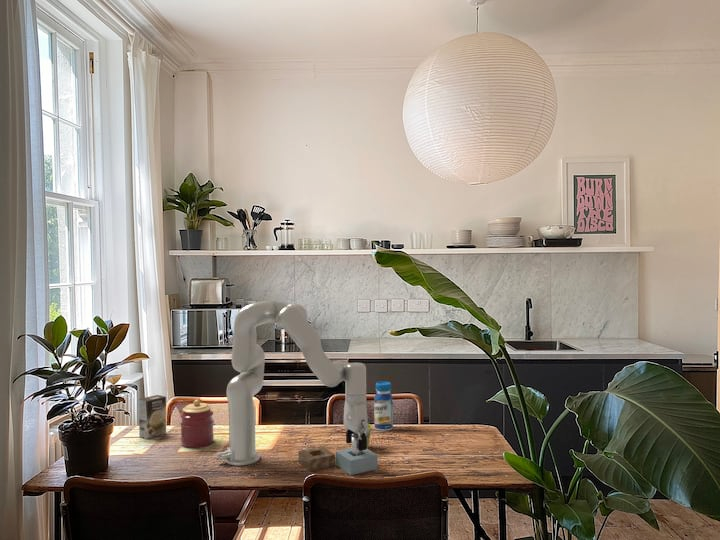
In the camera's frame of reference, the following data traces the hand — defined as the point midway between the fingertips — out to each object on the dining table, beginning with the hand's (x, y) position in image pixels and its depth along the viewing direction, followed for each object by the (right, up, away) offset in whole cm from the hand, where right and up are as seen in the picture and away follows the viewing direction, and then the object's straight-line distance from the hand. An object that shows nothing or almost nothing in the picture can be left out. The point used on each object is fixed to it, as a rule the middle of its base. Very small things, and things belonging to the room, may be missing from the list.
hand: (356, 446), depth 195 cm
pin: (0, -8, 0) cm, 8 cm away
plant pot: (+2, -7, +20) cm, 21 cm away
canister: (-65, -8, +27) cm, 71 cm away
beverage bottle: (+12, -7, +44) cm, 46 cm away
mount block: (-14, -8, +3) cm, 17 cm away
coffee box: (-87, -8, +38) cm, 95 cm away
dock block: (0, -8, 0) cm, 8 cm away
